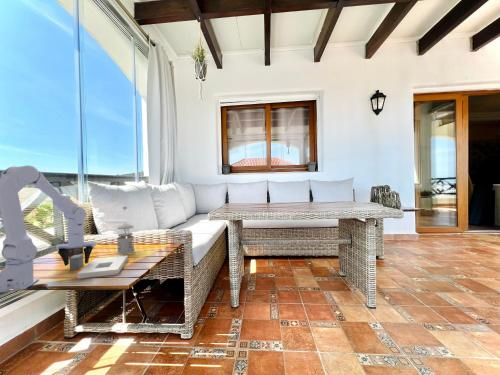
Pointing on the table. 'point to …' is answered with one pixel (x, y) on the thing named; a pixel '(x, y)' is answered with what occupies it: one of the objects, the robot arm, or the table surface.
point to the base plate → (110, 266)
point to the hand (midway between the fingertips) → (76, 263)
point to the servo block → (76, 261)
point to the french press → (125, 240)
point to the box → (74, 250)
